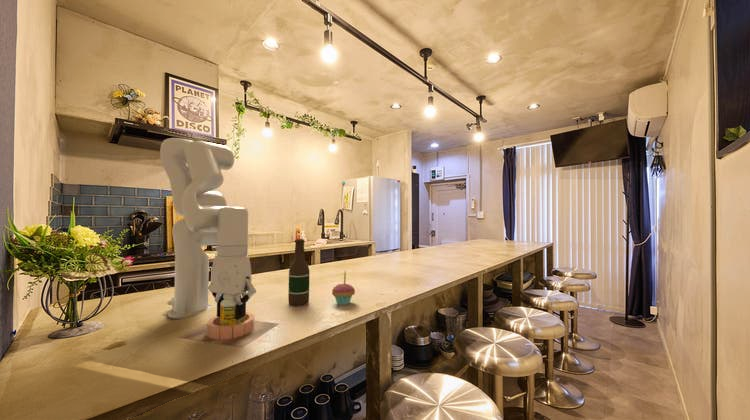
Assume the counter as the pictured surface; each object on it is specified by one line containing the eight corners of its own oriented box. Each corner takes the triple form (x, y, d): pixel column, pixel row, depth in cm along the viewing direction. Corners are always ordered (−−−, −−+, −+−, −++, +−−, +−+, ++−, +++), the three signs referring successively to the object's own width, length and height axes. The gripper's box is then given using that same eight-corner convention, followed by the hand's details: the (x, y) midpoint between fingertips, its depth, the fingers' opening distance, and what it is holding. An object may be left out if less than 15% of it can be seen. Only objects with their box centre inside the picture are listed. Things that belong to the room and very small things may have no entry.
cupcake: (335, 299, 109) (336, 268, 109) (356, 300, 108) (357, 269, 108) (329, 306, 101) (329, 273, 101) (351, 307, 100) (352, 274, 100)
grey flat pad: (177, 341, 72) (177, 336, 72) (222, 320, 86) (222, 316, 86) (242, 352, 67) (242, 347, 67) (278, 327, 81) (278, 323, 81)
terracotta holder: (196, 336, 73) (197, 324, 73) (229, 320, 84) (230, 310, 84) (233, 341, 70) (233, 329, 70) (262, 324, 81) (262, 314, 81)
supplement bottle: (240, 321, 80) (241, 288, 81) (243, 328, 76) (243, 293, 76) (218, 325, 78) (219, 291, 78) (220, 332, 73) (221, 296, 73)
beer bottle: (306, 306, 100) (307, 240, 100) (284, 306, 100) (286, 240, 100) (311, 300, 108) (312, 238, 108) (291, 299, 108) (292, 238, 108)
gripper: (196, 251, 76) (194, 318, 75) (249, 254, 71) (248, 325, 71) (218, 248, 83) (216, 308, 83) (267, 251, 78) (266, 315, 78)
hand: (231, 315), depth 77 cm, fingers closed on supplement bottle, 5 cm apart
